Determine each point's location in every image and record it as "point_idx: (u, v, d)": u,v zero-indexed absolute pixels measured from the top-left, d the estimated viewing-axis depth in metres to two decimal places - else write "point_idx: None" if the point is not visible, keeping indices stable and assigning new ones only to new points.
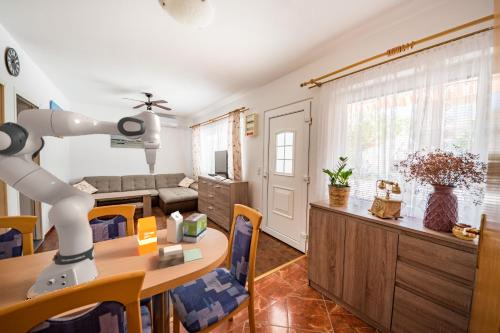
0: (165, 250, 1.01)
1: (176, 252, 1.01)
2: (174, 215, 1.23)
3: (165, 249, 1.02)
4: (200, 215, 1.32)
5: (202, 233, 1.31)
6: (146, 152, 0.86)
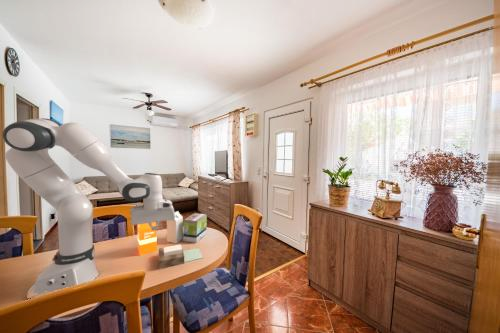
0: (165, 250, 1.01)
1: (176, 252, 1.01)
2: None
3: (165, 249, 1.02)
4: (200, 215, 1.32)
5: (202, 233, 1.31)
6: (173, 209, 1.00)
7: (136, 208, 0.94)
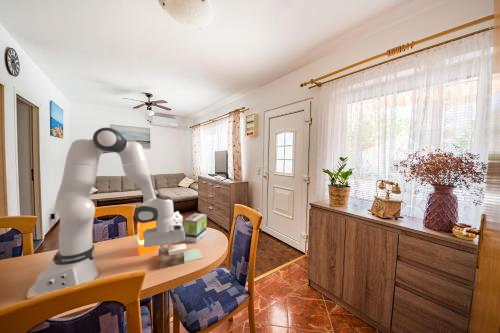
0: (170, 249, 1.02)
1: (181, 251, 1.02)
2: (174, 215, 1.23)
3: (170, 248, 1.03)
4: (200, 215, 1.32)
5: (202, 233, 1.31)
6: None
7: (148, 231, 0.97)
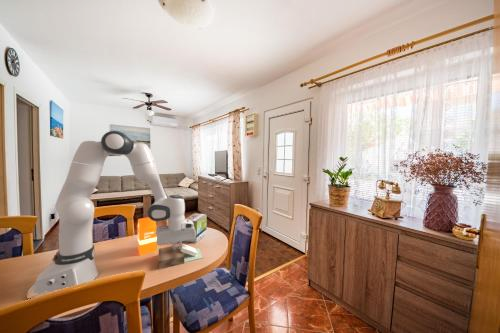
0: (183, 246, 1.05)
1: (191, 253, 1.05)
2: None
3: (183, 245, 1.06)
4: (200, 215, 1.32)
5: (202, 233, 1.31)
6: (194, 229, 1.06)
7: (161, 229, 1.00)
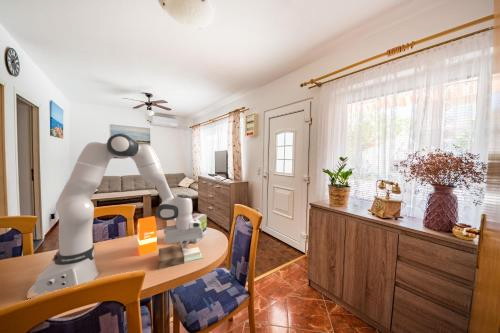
0: (184, 253, 1.06)
1: (194, 254, 1.06)
2: None
3: (184, 252, 1.07)
4: (200, 215, 1.32)
5: None
6: None
7: (169, 228, 1.02)
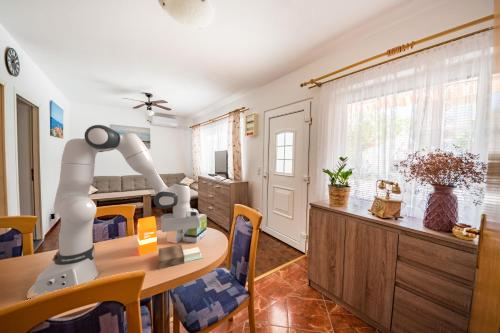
0: (184, 253, 1.06)
1: (194, 254, 1.06)
2: None
3: (184, 252, 1.07)
4: (200, 215, 1.32)
5: (202, 233, 1.31)
6: (199, 218, 1.06)
7: (166, 216, 1.00)
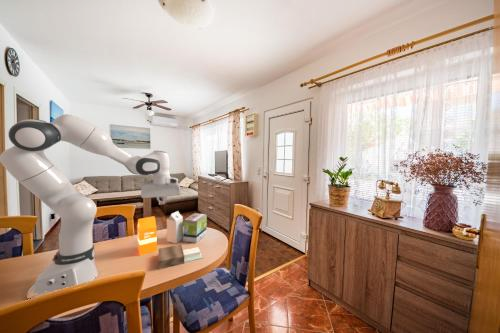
0: (184, 253, 1.06)
1: (194, 254, 1.06)
2: (174, 215, 1.23)
3: (184, 252, 1.07)
4: (200, 215, 1.32)
5: (202, 233, 1.31)
6: (179, 185, 1.09)
7: (145, 182, 1.02)
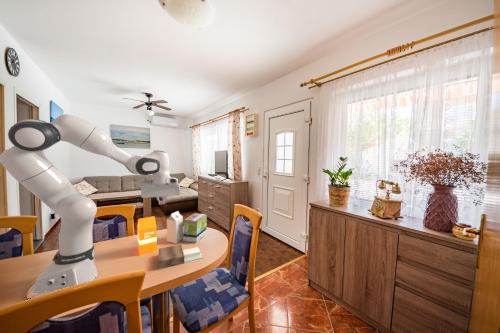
0: (184, 253, 1.06)
1: (194, 254, 1.06)
2: (174, 215, 1.23)
3: (184, 252, 1.07)
4: (200, 215, 1.32)
5: (202, 233, 1.31)
6: (179, 185, 1.09)
7: (145, 182, 1.02)
